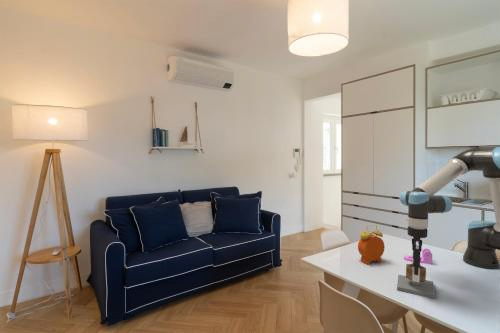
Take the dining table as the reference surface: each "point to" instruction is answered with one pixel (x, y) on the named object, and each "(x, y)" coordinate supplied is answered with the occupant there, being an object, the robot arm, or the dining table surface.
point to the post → (416, 287)
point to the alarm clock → (371, 246)
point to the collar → (409, 272)
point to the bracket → (425, 257)
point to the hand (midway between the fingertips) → (415, 277)
